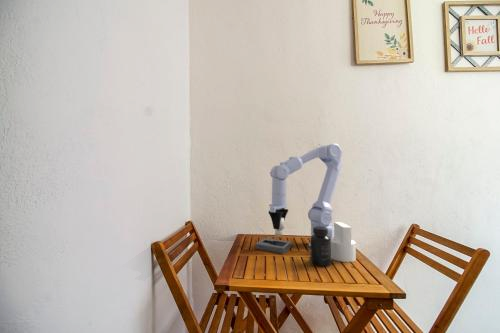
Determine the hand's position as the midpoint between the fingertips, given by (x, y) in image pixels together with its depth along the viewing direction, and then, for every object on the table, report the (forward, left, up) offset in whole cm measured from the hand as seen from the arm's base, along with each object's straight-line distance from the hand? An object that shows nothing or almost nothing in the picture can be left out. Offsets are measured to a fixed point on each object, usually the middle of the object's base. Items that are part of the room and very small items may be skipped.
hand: (278, 227), depth 92 cm
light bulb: (0, 0, -3) cm, 3 cm away
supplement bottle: (-18, +7, -9) cm, 21 cm away
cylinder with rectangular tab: (-24, -3, -9) cm, 26 cm away
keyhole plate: (+2, 0, -8) cm, 9 cm away
